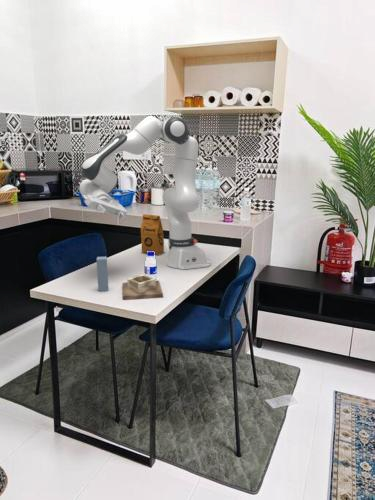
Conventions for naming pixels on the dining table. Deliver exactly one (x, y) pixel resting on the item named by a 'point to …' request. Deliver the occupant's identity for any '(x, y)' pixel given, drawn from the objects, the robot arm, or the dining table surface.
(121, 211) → the robot arm
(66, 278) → the dining table surface
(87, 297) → the dining table surface
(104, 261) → the slate peg
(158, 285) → the socket board
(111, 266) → the dining table surface
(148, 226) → the coffee package
